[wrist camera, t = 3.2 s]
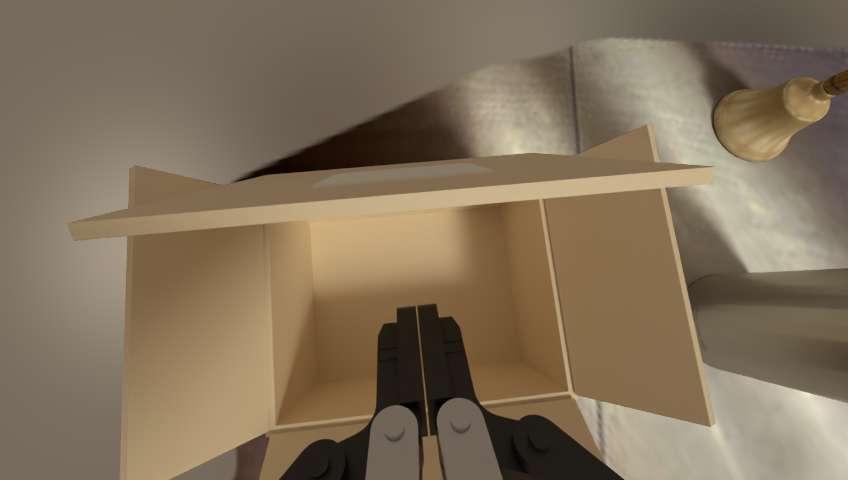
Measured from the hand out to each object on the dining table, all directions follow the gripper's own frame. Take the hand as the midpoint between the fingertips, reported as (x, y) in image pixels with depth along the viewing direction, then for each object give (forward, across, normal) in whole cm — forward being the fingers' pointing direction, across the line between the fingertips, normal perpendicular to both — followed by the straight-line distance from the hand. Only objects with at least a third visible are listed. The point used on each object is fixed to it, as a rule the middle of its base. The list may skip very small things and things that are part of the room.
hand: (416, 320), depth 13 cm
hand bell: (+25, -38, +3) cm, 45 cm away
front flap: (+6, 0, -3) cm, 7 cm away
